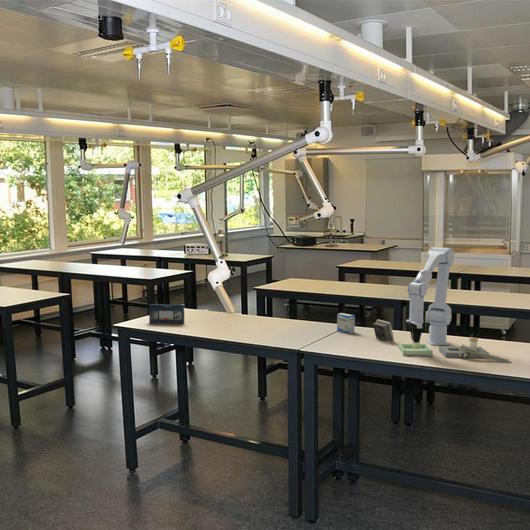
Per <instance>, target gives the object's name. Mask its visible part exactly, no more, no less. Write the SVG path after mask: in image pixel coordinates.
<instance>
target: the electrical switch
mask: <svg viewBox="0 0 530 530" xmlns="http://www.w3.org/2000/svg"><path fill="white" fill-rule="evenodd" d="M372 324H373V325H372V326H373V330H374V336H375V339H376V338H378V339H377V340H379V339H382V340H381V341H383V340H385V341H384V342H386V341H388V342H394V341H395V339H394V333H393V328H392V324H391V322H389V321H385V320H382V319H376V321H375V322H373V323H372ZM390 340H391V341H390Z"/></svg>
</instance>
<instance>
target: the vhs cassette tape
mask: <svg viewBox="0 0 530 530" xmlns="http://www.w3.org/2000/svg"><path fill="white" fill-rule="evenodd" d="M148 307H149V310H148V315H149V316H148V317H149V318H148V319H149V324H167V325H168V324H169V325H170V324H171V325H184V324H185V304H168V303H167V304H166V303H165V304H162V303H150V304H149V305H148Z"/></svg>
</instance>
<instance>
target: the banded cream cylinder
mask: <svg viewBox="0 0 530 530" xmlns="http://www.w3.org/2000/svg"><path fill="white" fill-rule="evenodd" d="M411 341H412V342H411V344H412V348H413V349H420V344H421V340H420V341H419V343H414V341H413V333H412V338H411Z"/></svg>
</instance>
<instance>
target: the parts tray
mask: <svg viewBox="0 0 530 530" xmlns="http://www.w3.org/2000/svg"><path fill="white" fill-rule="evenodd" d="M397 347H398V348H399V349H400V350H399V349H398V350H399V351H400V353H401V352H402V353H403V354H402V353H401V354H402V355H403V356H404V355H412V356H411V357H433V352H434V351H433V350H432V348H430V347H429V345H427V344H426V343H420V349H413V348H412V343H398V346H397Z"/></svg>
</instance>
